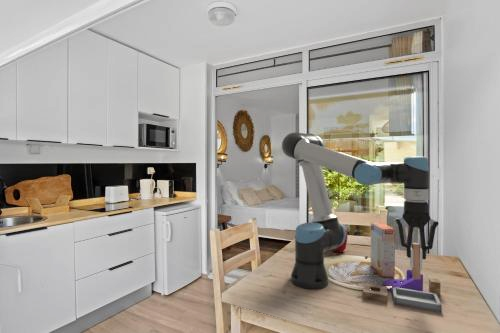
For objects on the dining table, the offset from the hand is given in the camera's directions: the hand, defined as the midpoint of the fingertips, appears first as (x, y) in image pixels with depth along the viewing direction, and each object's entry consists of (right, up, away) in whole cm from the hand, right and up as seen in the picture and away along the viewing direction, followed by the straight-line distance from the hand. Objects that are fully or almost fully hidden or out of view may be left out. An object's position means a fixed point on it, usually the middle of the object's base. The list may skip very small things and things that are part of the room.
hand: (416, 267), depth 100 cm
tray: (0, -12, 0) cm, 12 cm away
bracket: (+1, -13, +11) cm, 17 cm away
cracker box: (+1, -12, +29) cm, 31 cm away
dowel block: (-12, -12, +5) cm, 18 cm away
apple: (-10, -12, +58) cm, 60 cm away
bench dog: (+11, -12, +7) cm, 18 cm away
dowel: (0, -4, 0) cm, 4 cm away
